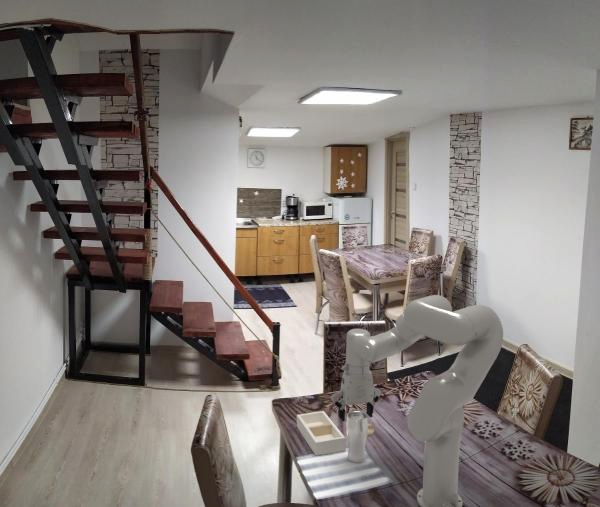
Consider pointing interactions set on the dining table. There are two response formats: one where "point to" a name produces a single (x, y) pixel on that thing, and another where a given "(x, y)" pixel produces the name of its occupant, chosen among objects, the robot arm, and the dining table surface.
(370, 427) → the cork trivet
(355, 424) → the beer glass
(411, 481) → the dining table surface
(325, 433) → the cream divided tray
